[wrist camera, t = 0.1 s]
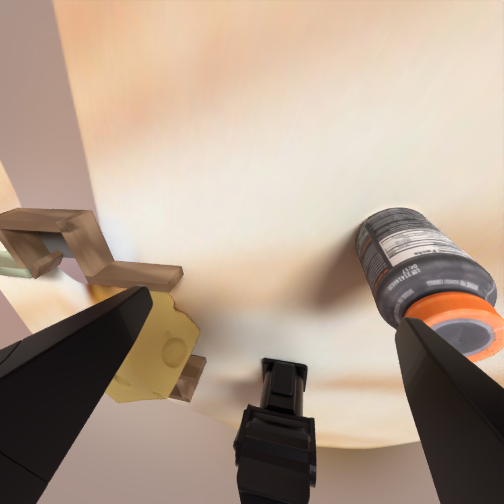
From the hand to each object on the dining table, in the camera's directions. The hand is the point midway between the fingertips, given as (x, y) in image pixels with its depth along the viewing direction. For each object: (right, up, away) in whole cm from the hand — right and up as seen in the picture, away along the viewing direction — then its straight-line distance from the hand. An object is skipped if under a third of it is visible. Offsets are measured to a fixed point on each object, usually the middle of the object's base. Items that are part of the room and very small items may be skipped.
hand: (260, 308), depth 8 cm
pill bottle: (+12, +3, +13) cm, 18 cm away
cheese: (-14, -8, +26) cm, 31 cm away
